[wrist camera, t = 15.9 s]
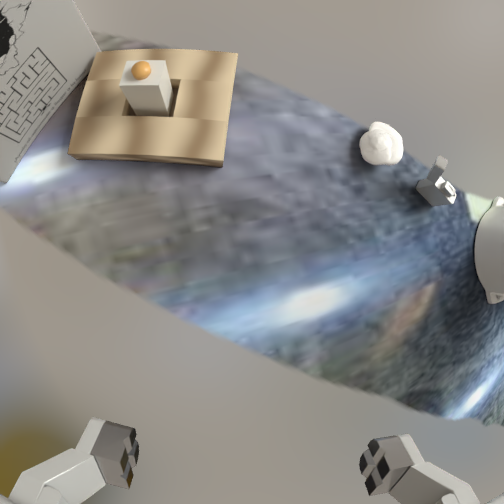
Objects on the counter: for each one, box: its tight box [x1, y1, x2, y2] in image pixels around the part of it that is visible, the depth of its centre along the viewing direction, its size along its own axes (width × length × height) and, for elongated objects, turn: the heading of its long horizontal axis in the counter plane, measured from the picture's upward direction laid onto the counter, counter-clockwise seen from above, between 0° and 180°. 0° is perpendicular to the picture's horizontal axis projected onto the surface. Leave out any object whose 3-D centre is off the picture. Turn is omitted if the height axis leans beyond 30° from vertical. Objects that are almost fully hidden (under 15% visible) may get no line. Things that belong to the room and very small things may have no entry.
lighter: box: [416, 155, 456, 206], centre depth 33 cm, size 7×2×8 cm, turn 56°
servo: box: [119, 60, 174, 117], centre depth 27 cm, size 4×3×9 cm
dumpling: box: [359, 122, 403, 165], centre depth 34 cm, size 7×5×4 cm
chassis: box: [68, 49, 238, 167], centre depth 30 cm, size 18×14×3 cm
